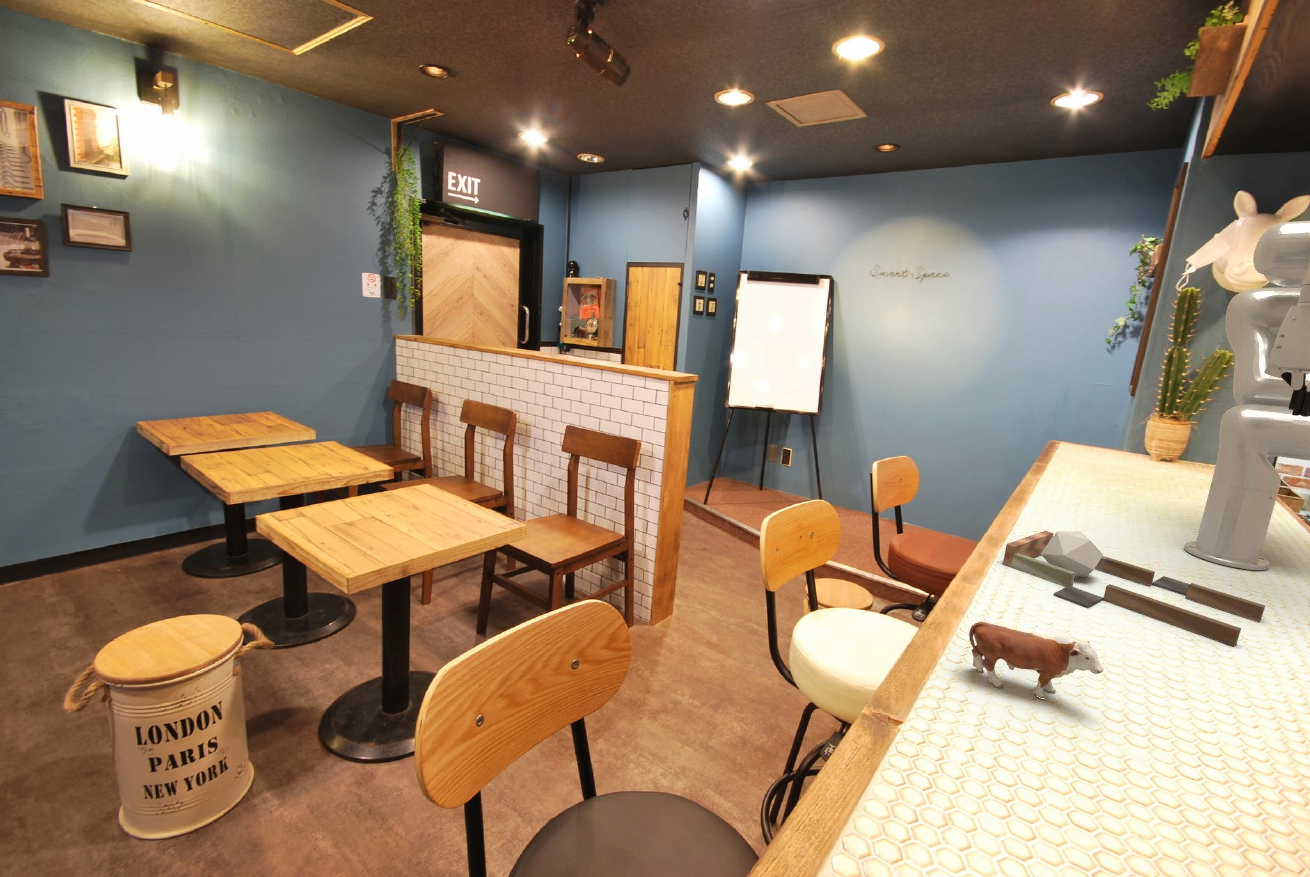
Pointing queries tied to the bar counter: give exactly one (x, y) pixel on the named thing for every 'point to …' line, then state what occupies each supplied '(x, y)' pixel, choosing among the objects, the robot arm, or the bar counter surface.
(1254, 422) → the robot arm
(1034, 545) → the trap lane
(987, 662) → the bull figurine
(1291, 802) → the bar counter surface
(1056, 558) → the die
